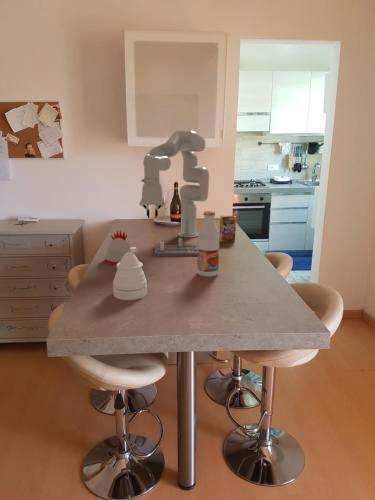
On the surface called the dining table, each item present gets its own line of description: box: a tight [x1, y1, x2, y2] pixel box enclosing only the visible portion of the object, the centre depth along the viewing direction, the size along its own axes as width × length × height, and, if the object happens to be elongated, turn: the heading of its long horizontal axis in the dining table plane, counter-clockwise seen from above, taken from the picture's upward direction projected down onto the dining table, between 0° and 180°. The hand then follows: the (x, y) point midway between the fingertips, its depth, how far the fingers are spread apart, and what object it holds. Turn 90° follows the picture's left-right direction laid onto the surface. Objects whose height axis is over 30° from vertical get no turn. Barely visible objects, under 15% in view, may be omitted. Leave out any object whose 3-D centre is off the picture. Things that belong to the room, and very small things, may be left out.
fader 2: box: [177, 236, 183, 247], centre depth 211 cm, size 3×2×5 cm
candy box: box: [218, 215, 237, 243], centre depth 229 cm, size 9×4×15 cm, turn 98°
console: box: [154, 243, 198, 257], centre depth 207 cm, size 16×24×2 cm, turn 94°
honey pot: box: [112, 246, 148, 301], centre depth 147 cm, size 13×13×18 cm
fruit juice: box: [196, 210, 220, 278], centre depth 170 cm, size 9×9×28 cm
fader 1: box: [159, 239, 165, 250], centre depth 203 cm, size 3×2×5 cm
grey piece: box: [105, 230, 132, 266], centre depth 189 cm, size 14×14×15 cm
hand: (152, 217), depth 199 cm, fingers open, 3 cm apart
